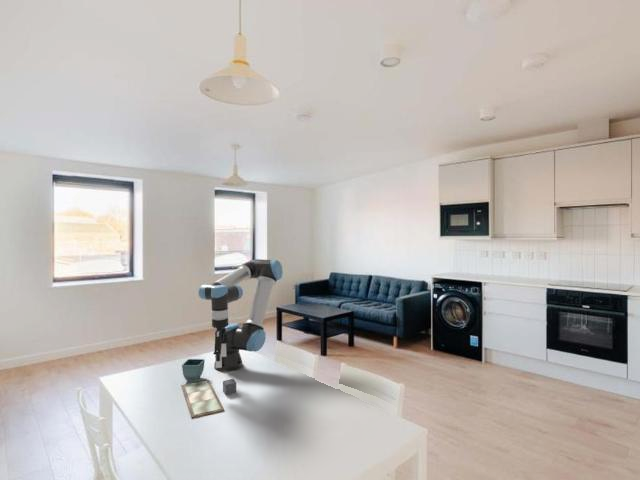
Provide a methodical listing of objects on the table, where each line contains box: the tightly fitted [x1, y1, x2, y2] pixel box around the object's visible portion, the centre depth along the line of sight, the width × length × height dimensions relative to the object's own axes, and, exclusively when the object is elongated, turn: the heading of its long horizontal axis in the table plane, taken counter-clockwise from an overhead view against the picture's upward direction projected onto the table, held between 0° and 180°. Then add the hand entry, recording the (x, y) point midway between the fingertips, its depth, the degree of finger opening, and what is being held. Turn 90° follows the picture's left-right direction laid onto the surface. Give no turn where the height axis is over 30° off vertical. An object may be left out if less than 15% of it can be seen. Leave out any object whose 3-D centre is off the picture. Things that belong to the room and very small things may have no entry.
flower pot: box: [181, 358, 205, 382], centre depth 183 cm, size 9×9×9 cm
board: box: [181, 380, 225, 419], centre depth 163 cm, size 13×34×1 cm, turn 27°
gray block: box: [222, 378, 237, 396], centre depth 169 cm, size 5×5×5 cm
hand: (221, 361), depth 173 cm, fingers open, 13 cm apart
